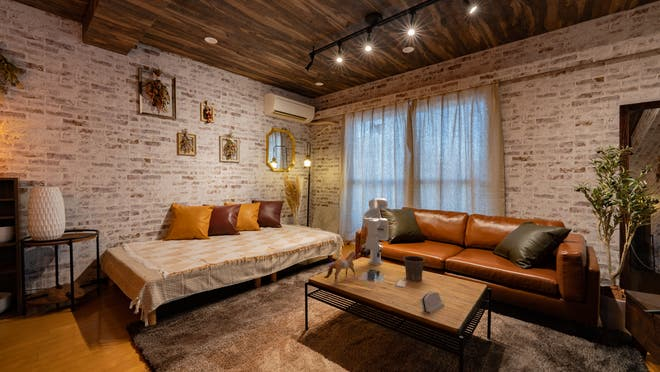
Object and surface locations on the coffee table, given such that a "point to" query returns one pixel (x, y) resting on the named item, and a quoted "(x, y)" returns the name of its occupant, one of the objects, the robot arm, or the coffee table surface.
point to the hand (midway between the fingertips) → (372, 256)
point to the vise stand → (377, 279)
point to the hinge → (431, 302)
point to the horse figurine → (342, 266)
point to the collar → (372, 274)
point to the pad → (401, 283)
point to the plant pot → (414, 267)
